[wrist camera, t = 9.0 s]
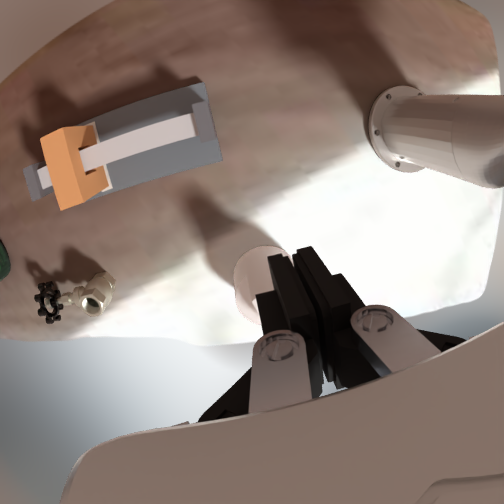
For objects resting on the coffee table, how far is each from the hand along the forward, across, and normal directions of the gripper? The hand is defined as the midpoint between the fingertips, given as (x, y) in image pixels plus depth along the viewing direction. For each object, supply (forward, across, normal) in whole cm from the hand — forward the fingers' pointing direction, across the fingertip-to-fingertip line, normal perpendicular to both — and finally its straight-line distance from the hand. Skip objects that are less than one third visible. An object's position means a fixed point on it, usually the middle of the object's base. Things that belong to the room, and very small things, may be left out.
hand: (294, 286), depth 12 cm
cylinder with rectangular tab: (+29, 0, +15) cm, 33 cm away
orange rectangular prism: (+27, +18, -7) cm, 33 cm away
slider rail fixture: (+29, +13, -7) cm, 33 cm away
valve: (+30, +27, +10) cm, 41 cm away
